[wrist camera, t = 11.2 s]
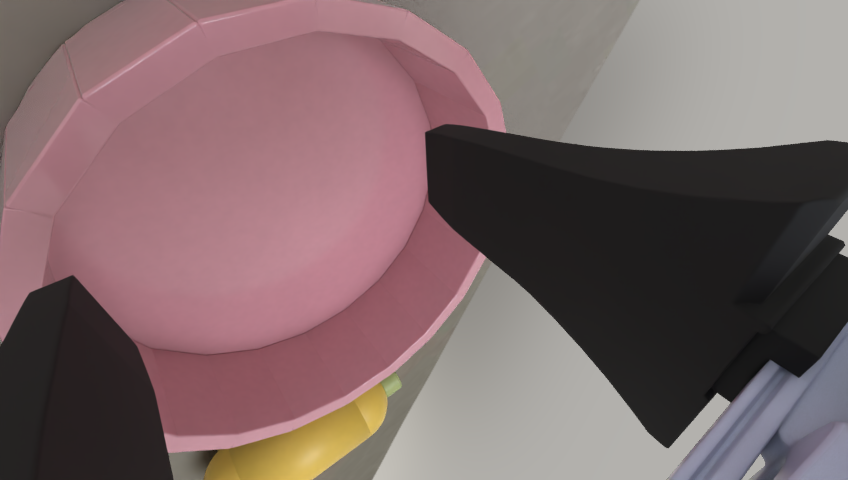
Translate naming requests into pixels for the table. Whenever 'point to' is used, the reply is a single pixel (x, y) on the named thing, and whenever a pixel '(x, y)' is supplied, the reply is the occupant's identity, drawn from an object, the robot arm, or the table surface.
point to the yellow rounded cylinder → (307, 442)
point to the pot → (245, 199)
